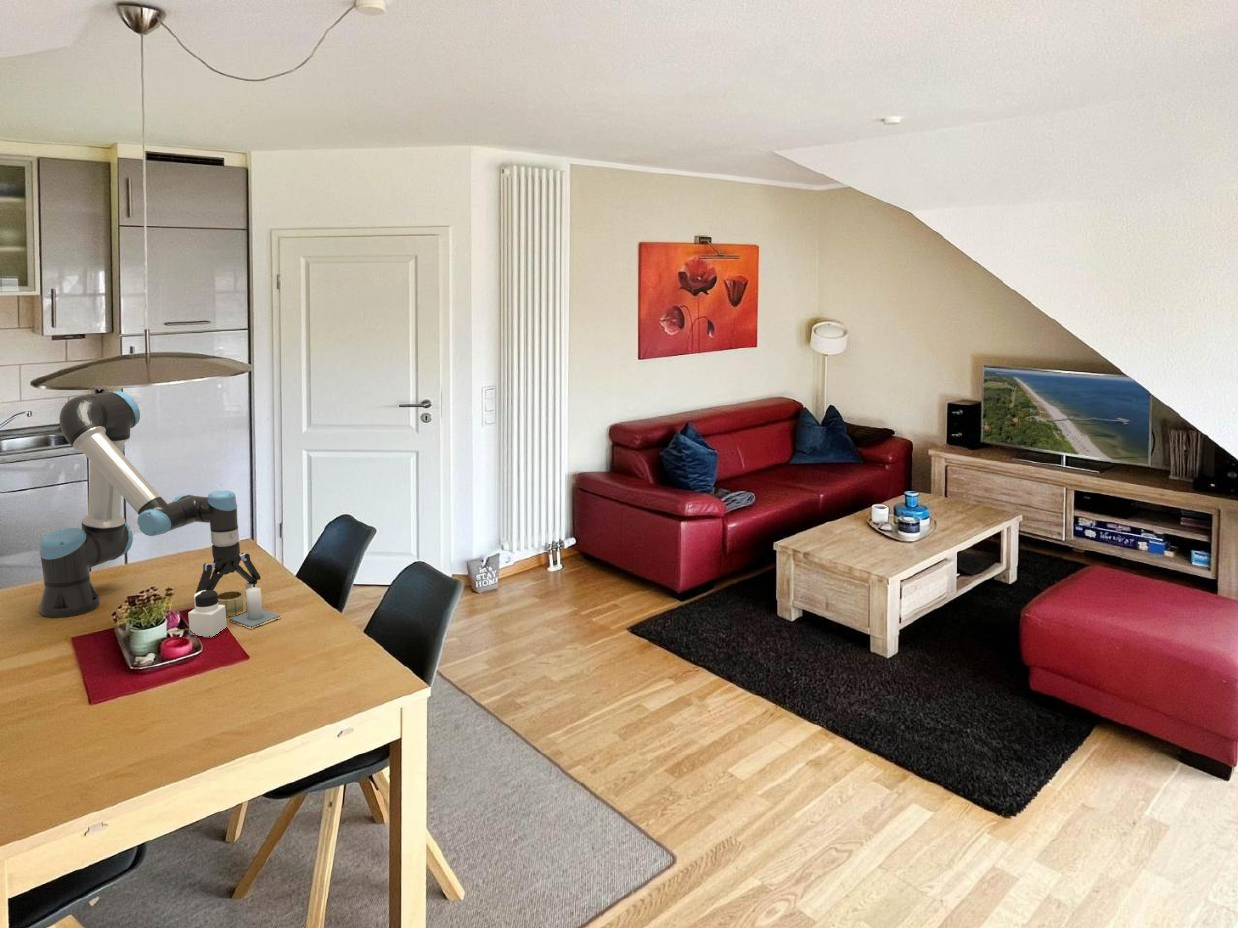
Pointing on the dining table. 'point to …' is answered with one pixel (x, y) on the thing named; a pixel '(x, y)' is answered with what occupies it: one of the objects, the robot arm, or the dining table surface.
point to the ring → (232, 601)
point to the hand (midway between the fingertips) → (230, 610)
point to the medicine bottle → (207, 614)
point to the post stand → (254, 610)
